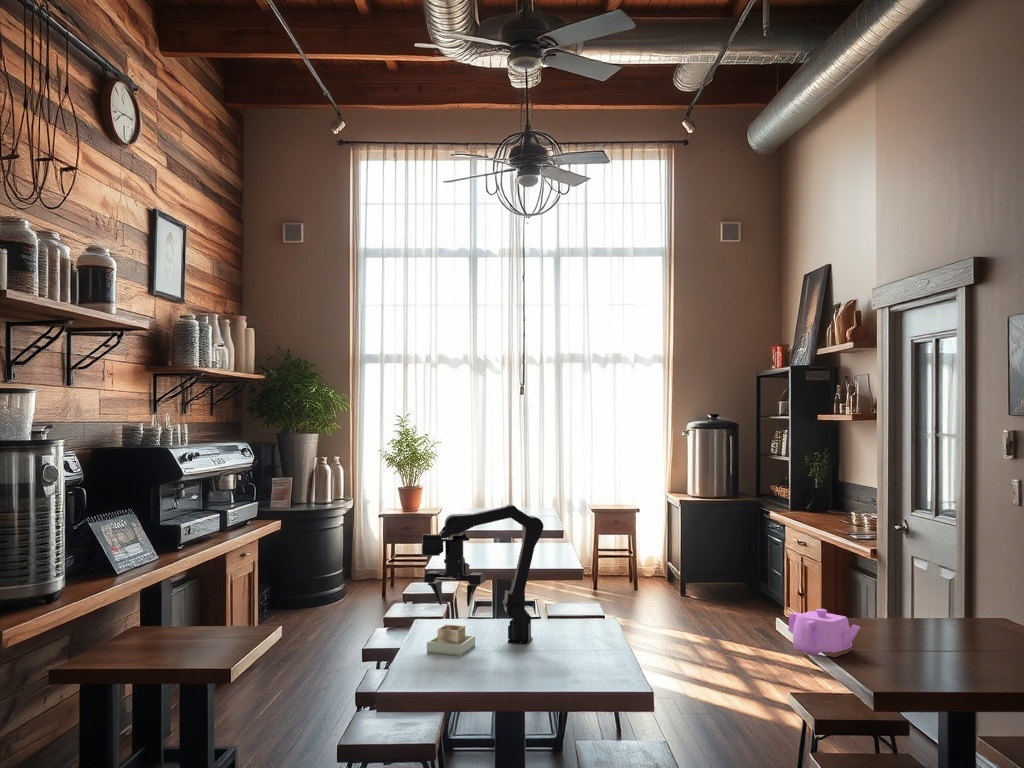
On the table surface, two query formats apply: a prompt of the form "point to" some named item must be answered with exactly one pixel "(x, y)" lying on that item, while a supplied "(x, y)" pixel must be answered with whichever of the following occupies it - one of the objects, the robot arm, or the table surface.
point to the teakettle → (821, 632)
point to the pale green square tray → (451, 646)
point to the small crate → (451, 634)
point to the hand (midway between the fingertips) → (454, 605)
